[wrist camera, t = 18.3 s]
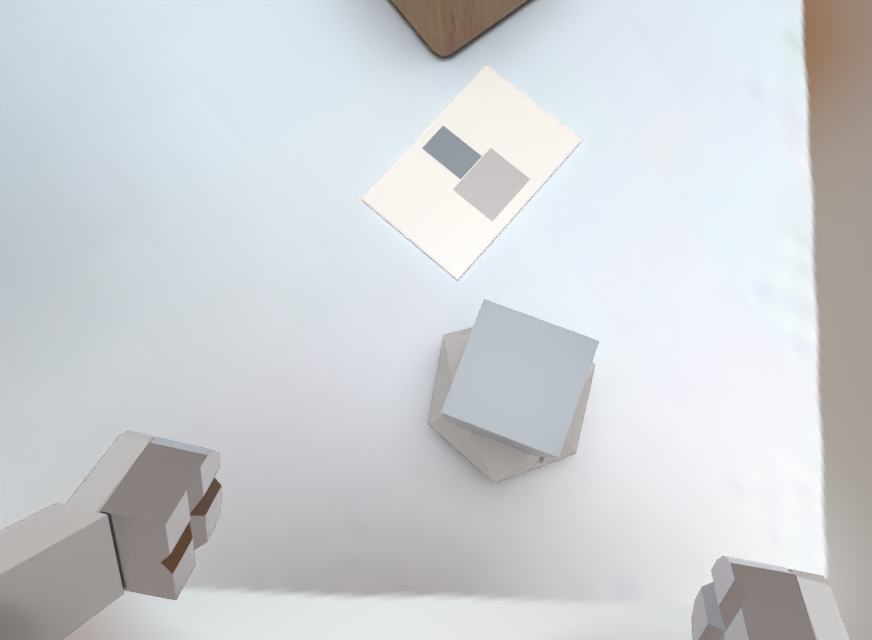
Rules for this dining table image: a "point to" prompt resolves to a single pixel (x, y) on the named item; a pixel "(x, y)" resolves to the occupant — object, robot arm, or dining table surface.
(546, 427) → the brick
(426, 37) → the block
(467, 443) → the die
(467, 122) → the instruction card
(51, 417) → the dining table surface
